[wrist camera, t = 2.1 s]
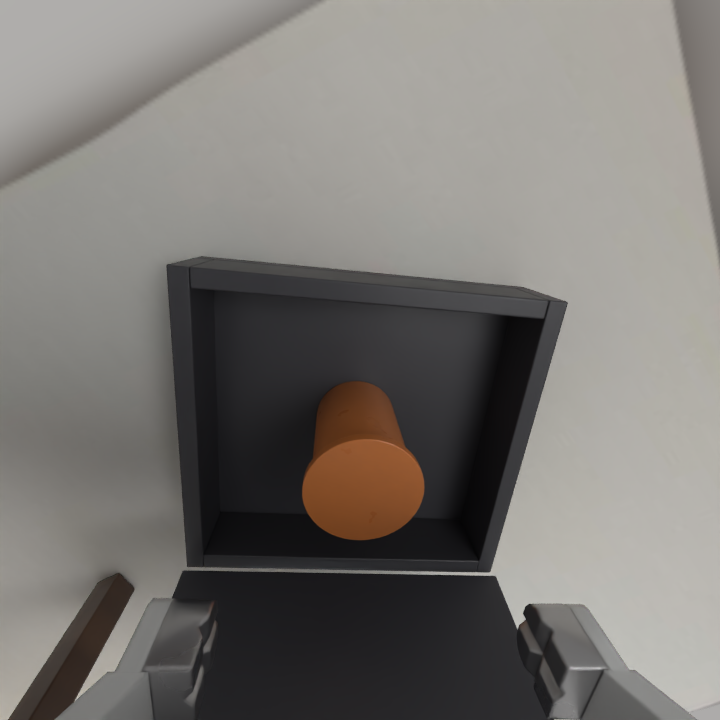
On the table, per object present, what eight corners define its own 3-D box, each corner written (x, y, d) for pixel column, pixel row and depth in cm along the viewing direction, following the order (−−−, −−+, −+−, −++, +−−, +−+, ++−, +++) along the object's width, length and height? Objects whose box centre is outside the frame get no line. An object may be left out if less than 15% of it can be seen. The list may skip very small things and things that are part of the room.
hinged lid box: (200, 256, 17) (165, 264, 14) (524, 287, 19) (568, 302, 15) (210, 512, 22) (186, 567, 19) (466, 520, 24) (490, 573, 20)
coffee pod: (313, 372, 19) (305, 436, 13) (404, 378, 19) (434, 443, 14) (308, 451, 20) (299, 539, 15) (392, 455, 21) (415, 542, 15)
